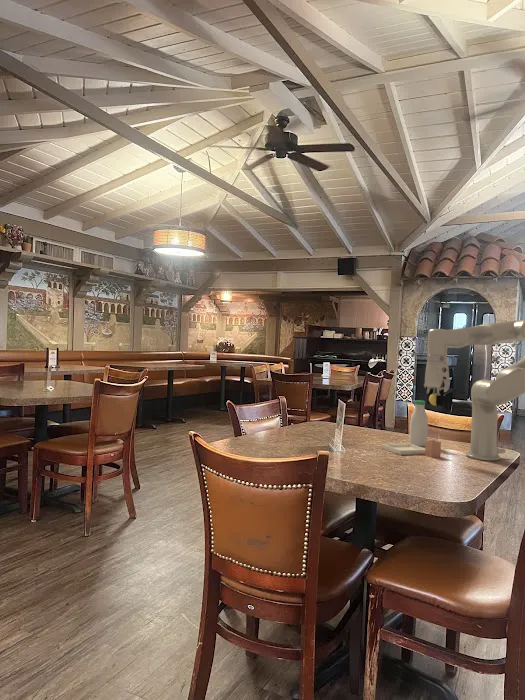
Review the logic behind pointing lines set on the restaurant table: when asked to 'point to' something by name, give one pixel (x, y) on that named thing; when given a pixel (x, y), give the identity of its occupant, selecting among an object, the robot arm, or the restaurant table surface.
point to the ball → (433, 399)
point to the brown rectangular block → (432, 448)
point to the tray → (404, 449)
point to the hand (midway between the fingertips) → (435, 404)
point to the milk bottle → (418, 425)
